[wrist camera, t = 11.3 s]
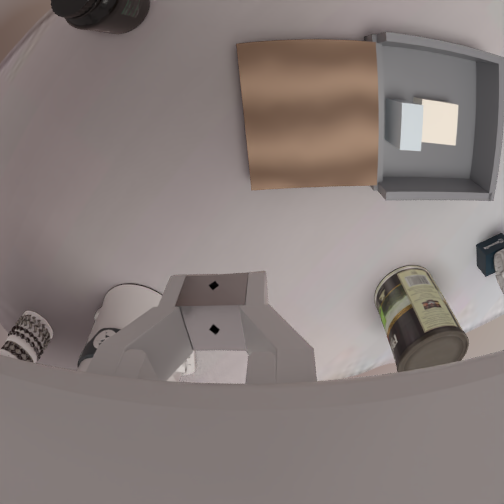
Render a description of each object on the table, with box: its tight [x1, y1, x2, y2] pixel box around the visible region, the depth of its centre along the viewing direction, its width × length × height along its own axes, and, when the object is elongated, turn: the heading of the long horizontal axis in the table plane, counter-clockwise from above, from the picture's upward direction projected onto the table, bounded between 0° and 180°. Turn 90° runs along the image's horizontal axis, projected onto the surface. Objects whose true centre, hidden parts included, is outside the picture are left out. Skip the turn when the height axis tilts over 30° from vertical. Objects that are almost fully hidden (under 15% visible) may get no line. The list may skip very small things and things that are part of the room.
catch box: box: [364, 32, 504, 201], centre depth 29 cm, size 18×16×6 cm
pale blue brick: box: [385, 98, 423, 151], centre depth 30 cm, size 5×5×2 cm
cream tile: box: [413, 97, 458, 146], centre depth 30 cm, size 5×5×2 cm
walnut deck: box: [236, 39, 379, 190], centre depth 32 cm, size 16×14×4 cm
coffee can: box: [375, 265, 469, 372], centre depth 40 cm, size 10×10×14 cm
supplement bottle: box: [51, 0, 150, 34], centre depth 22 cm, size 7×7×12 cm
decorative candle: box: [0, 311, 53, 363], centre depth 46 cm, size 9×9×25 cm
